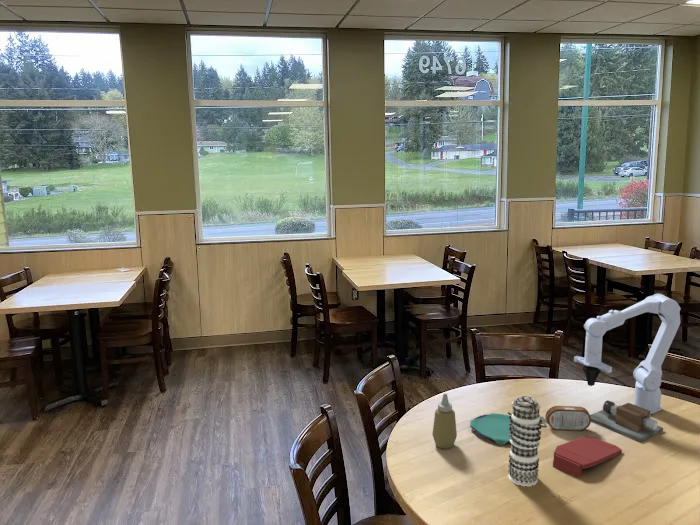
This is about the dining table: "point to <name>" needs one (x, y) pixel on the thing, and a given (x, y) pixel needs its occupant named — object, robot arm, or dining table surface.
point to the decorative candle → (524, 441)
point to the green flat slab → (494, 427)
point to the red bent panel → (583, 454)
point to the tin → (568, 418)
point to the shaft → (648, 422)
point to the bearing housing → (626, 422)
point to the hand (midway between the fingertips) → (591, 385)
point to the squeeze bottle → (444, 424)
